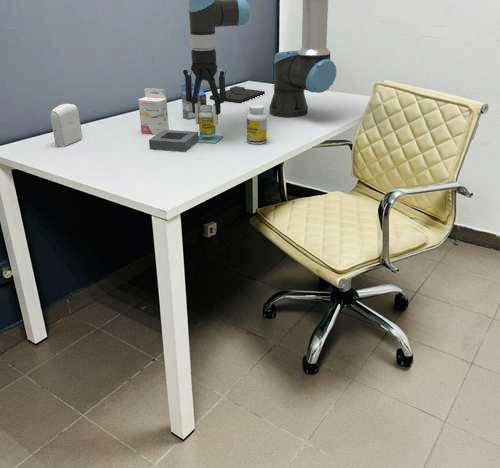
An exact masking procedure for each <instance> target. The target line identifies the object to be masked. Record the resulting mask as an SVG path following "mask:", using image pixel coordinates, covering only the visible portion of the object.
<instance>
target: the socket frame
mask: <svg viewBox="0 0 500 468" xmlns="http://www.w3.org/2000/svg"><path fill="white" fill-rule="evenodd" d="M198 136H199V131H190V130H173V129H169V130H163V131H161V132H160V133H158V134H157V135H155V134H154V136H152V137H151V138H149V139H148V142H149V143H148V146H149V150H154V151H171V152H181V153H183V152H186V153H187V151H189V150H190V149H191V148H192V147H193V146H194V145H195V144H198V143H197V141H198V140H199V139H198Z"/></svg>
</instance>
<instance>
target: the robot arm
mask: <svg viewBox="0 0 500 468" xmlns="http://www.w3.org/2000/svg"><path fill="white" fill-rule="evenodd" d="M250 9H251V7H250V5H249V3H248V2H247V0H188V17H189V18H188V19H189V30H190V31H189V32H190V36H189V37H190V47H191V48H192V49H191V53H190V54H191V63H192V64H191V66H190V68H185V69H184V70H182V72H183V75H184V78H185V79H184V81H185V82H184V83H185V85H186V101H189V102H191V103H192V111H193V113H195V116H196V118H195V125H199V117H198V115H199V113H200V102H197V101H198V96H199V91H200V89H201V87H202V86H201V85H202V82H203V81H206V82H207V83H208V85H209V88H210V89H209V90H210V91H211V95H213V99H214V100H213V101H214V104H213V105H212V112H213V123H214V125H215V126H217V125H218V124H219V115H220V114H221V113H222V111H221V109H222V108H221V104H223V103H226V102H225V101H226V91H227V90H226V79H225V78H226V75H227V70H226V69H222V68H219V66H218V65H217V50H216V49H215V48H216V45H217V43H216V28H220V27H239V26H244V25H246V24H247V23H248V22H249V20H250V18H251V10H250ZM328 15H329V0H302V17H301V18H302V23H301V25H302V26H301V28H302V29H301V48H300V49H299V50H290V51H279V52H277V53H276V54H275V55H274V60H273V68H274V69H273V72H274V74H273V75H274V78H273V79H274V81H273V96H272V99H271V101H270V104H269V111H268V113H269V114H270V115H272V116H275V117H282V118H296V117H303V116H306V115H307V114H308V113H309V107H308V102H307V100H306V95H305V91H308V92H310V93H317V94H318V93H319V94H321V93H324V92H326V91H328V90H329V89H330V88H331V86H333V84H334V82H335V80H336V77H337V66H336V64H335V62H334V61H332V60H331V51H330V50H329V48H328V47H327V42H328V41H327V37H328ZM216 74H217V76H218V87H217V84H216V78H215V75H216ZM192 75H194V76H195V79H194V80H195V81H194V83H195V86H192V83H193V81H192ZM192 88H194V91H193V96H192ZM218 89H219V91H218ZM218 93H220V97H219V94H218Z"/></svg>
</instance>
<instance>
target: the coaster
mask: <svg viewBox="0 0 500 468" xmlns="http://www.w3.org/2000/svg"><path fill="white" fill-rule="evenodd" d="M198 139H199V140H198V141H197V143H196V144H209V145H210V144H213V145H216V144H217V143H218V142H219V141H220V140H221V139H223V135H215V136H212V137H202V136H200V134H198Z"/></svg>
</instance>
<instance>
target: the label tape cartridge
mask: <svg viewBox="0 0 500 468" xmlns="http://www.w3.org/2000/svg"><path fill="white" fill-rule="evenodd" d="M194 86H195V82H192V96H193V91H194ZM180 89H181V105H182V107H181V108H182V118H183V119H186V120H191V119H196V116H195V113H193V111H192V103H191V102H189V101H186V85H185V84H181V85H180ZM197 102H200V106H201V105H207V94H206V92H204V90H202V89H201V88H200V91H199V96H198V101H197ZM200 112H201V111H200Z"/></svg>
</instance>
